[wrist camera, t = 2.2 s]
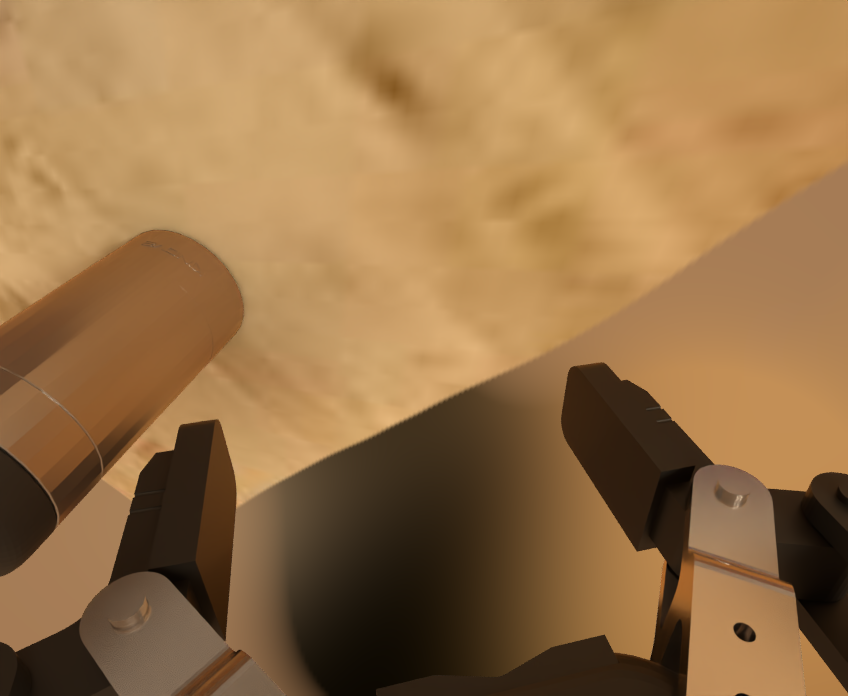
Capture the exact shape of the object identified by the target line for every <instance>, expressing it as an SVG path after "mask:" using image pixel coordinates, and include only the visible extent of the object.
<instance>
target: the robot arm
mask: <svg viewBox="0 0 848 696" xmlns="http://www.w3.org/2000/svg"><path fill="white" fill-rule="evenodd" d="M242 320H243V302H242V297H241V293H240V291H239V289H238V287H237V284H236V282H235V280H234V279H233V277H232V276H231V274H230V273H229V271H228V270H227V268H226V267H225V266H224V265H223V264H222V263H221V262H220V261H219V259H218V258H217V257H216V256H214V255H213V254H212V253H211V252H210V251H209V250H207V249H206V248H205V247H203V246H202V245H200V244H199V243H197V242H195V241H194V240H192V239H190V238H188V237H186V236H183V235H181V234H178V233H174V232H170V231H166V230H152V231H148V232H144V233H142V234H140V235H139V236H137V237H135V238H134V239H132V240H131V241H129V242H128V243H126V244H125V245H123V246H122V247H120V248H118V249H117V250H115V251H114V252H112V253H111V254H109V255H108V256H106V257H105V258H103V259H101V260H100V261H98V262H96V263H95V264H93V265H92V266H90V267H89V268H87V269H86V270H84V271H83V272H81V273H80V274H78V275H77V276H75V277H74V278H72V279H71V280H69V281H67V282H66V283H64V284H63V285H61V286H60V287H58V288H57V289H55V290H54V291H52V292H51V293H49V294H48V295H46V296H45V297H43V298H42V299H40V300H39V301H37V302H36V303H34V304H33V305H31V306H30V307H28V308H26V309H25V310H23V311H22V312H20V313H19V314H17V315H16V316H14V317H13V318H11V319H10V320H8V321H7V322H5V323H4V324H2V325H1V326H0V576H3V575H6V574H8V573H10V572H12V571H13V570H15V569H16V568H18V567H19V566H20V565H22V564H23V563H24V562H25V561H26V560H27V559H28V558H29V557H30V556H31V555H32V554H33V553H34V552H35V551H36V550H37V549H38V548H39V547H40V545H41V544H42V543H43V542H44V541H45V540H46V539H47V538H48V537H49V536H50V535H51V533H52V532H53V531H54V530H55V529H56V527H57V526H58V525H59V524H60V523H61V522H62V521H63V520H64V519H65V518H66V517H67V515H68V514H69V513H70V512H71V511H72V510H73V509H74V508H75V507H76V506H77V505H78V503H79V502H80V501H81V500H82V499H83V498H84V497H85V496H86V495H87V494H88V493H89V492H90V491H91V489H92V488H93V487H94V486H95V485H96V484H97V483H98V482H99V480H100V479H101V478H102V477H103V476H104V475H105V474H106V473H107V472H108V471H109V470H110V469H111V468H112V466H113V465H114V464H115V463H116V462H117V461H118V460H119V459H120V458H121V457H122V456H123V455H124V453H125V452H126V451H127V450H128V449H129V448H130V447H131V446H132V445H133V444H134V443H135V442H136V441H137V439H138V438H139V437H140V436H141V435H142V434H143V433H144V432H145V431H146V430H147V429H148V428H149V426H150V425H151V424H152V423H153V422H154V421H155V420H156V419H157V418H158V417H159V416H160V415H161V414H162V412H163V411H164V410H165V409H166V408H167V407H168V406H169V405H170V404H171V403H172V402H173V401H174V399H175V398H176V397H177V396H178V395H179V394H180V393H181V392H182V391H183V390H184V389H185V388H186V387H187V385H188V384H189V383H190V382H191V381H192V380H193V379H194V378H195V377H196V376H197V375H198V374H199V373H200V371H201V370H202V369H203V368H204V367H205V366H206V365H207V364H208V363H209V362H210V361H211V360H212V359H213V358H214V357H215V356H216V355H217V353H218V352H219V351H220V350H221V349H222V348H223V347H224V346H225V345H226V344H227V343H228V341H229V340H230V339H231V338H232V337H233V336H234V335H235V334H236V333H237V331H238V330H239V328H240V326H241V324H242ZM561 424H562V430H563V434H564V437H565V439H566V441H567V443H568V445H569V446H570V448H571V449H572V451H573V453H574V454H575V456H576V457H577V459H578V460H579V462H580V463H581V465H582V467H583V468H584V470H585V471H586V473H587V474H588V476H589V477H590V479H591V480H592V482H593V483H594V485H595V487H596V488H597V490H598V491H599V493H600V495H601V496H602V498H603V499H604V501H605V502H606V504H607V505H608V507H609V509H610V510H611V512H612V513H613V515H614V516H615V518H616V519H617V521H618V523H619V524H620V526H621V527H622V529H623V530H624V532H625V534H626V535H627V537H628V538H629V540H630V541H631V543H632V544H633V546H634V547H635V549H636V551H642V550H647V549H651V548H656V547H657V548H658V550H659V551H660V553H661V554H662V556H663V557H664V559H665V561H664V564H663V568H662V577H661V587H660V595H659V603H658V612H657V620H656V629H655V638H654V644H653V649H652V653H651V657H650V660H647V659H643V658H640V657H636V656H633V655H627V654H621V653H614V652H613V650H612V648H611V646H610V645H609V642H608V640H607V639H606V636H605V635H601V636H597V637H593V638H589V639H585V640H580V641H576V642H572V643H568V644H564V645H559V646H555V647H552V648H550V649H548V650H546V651H545V652H543V653H541V654H539V655H538V656H536V657H535V658H533V659H531V660H529V661H528V662H526V663H524V664H522V665H521V666H519V667H517V668H515V669H514V670H512V671H510V672H509V673H507V674H505V675H503V676H500V677H473V676H446V675H445V676H444V675H434V676H430V677H426V678H421V679H417V680H413V681H409V682H405V683H400V684H396V685H392V686H388V687H384V688H380V689H376V693H377V696H806V692H805V683H804V673H803V664H802V655H801V645H800V636H799V629H800V630H801V631H802V633H803V634H804V635H805V636H806V638H807V639H808V641H809V642H810V643H811V644H812V646H813V647H814V648H815V650H816V651H817V652H818V654H819V655H820V656H821V658H822V659H823V660H824V662H825V663H826V664H827V666H828V667H829V668H830V670H831V671H832V672H833V674H834V675H835V676H836V678H837V679H838V680H839V682H840V683H841V684H842V686H843V687H844V688H845V690H846V691H847V692H848V475H847V474H842V473H834V472H829V473H823V474H819V475H817V476H816V477H815V478H813V480H812V482H811V484H810V486H809V488H808V490H807V492H803V491H791V490H779V489H767V488H766V487H765V486H764V485H763V484H762V483H761V482H760V481H759V480H758V479H757V478H755V477H754V476H752V475H751V474H749V473H747V472H745V471H743V470H740V469H738V468H735V467H731V466H726V465H714V464H713V462H712V461H711V460H710V459H709V458H708V457H707V456H706V455H705V454H704V453H703V452H702V450H701V449H700V448H699V447H698V446H697V445H696V444H695V443H694V442H693V441H692V440H691V439H690V437H688V435H687V434H686V433H685V432H684V431H683V430H682V429H681V428H680V427H679V426H678V424H677V423H676V422H675V421H672V420H671V417H670V416H669V415H668V414H667V413H666V411H665V410H664V409H661V408H660V405H659V404H658V403H657V402H656V401H655V400H654V399H653V397H652V396H651V395H650V394H649V393H648V392H647V391H645V390H644V389H642V388H640V387H638V386H637V385H635V384H633V383H631V382H630V381H628V380H623V381H621V380H620V379H619V378H618V377H617V376H616V375H615V373H614V372H613V371H612V370H611V369H610V368H609V367H608V366H607V365H606V364H605V363H602V362H601V363H594V364H588V365H580V366H574V367H571V368H570V370H569V372H568V377H567V384H566V390H565V396H564V403H563V409H562V417H561ZM134 494H135V498H133V500H132V504H131V507H130V515H128V518H127V522H126V525H125V529H124V532H123V536H122V539H121V543H120V547H119V550H118V554H117V557H116V561H115V564H114V568H113V571H112V575H111V579H110V581H109V584H108V586H106V587H105V588H104V589H102V590H101V591H100V592H99V593H98V594H97V595H96V596H95V597H94V598H93V599H92V601H91V602H90V603H89V604H88V606H87V608H86V609H85V611H84V613H83V615H82V618H80V619H79V620H78V621H77V622H75V623H74V624H72V625H70V626H69V627H67V628H66V629H64V630H62V631H60V632H58V633H56V634H54V635H51V636H49V637H47V638H45V639H43V640H41V641H39V642H37V643H34V644H32V645H30V646H28V647H26V648H24V649H21V650H19V651H17V652H15V651H14V650H13V649H12V648H11V647H10V646H8V645H7V644H4V643H2V642H0V696H286V695H285V694H284V693H283V692H282V691H281V689H280V688H279V687H278V686H277V685H276V684H275V683H274V682H273V681H272V680H271V678H270V677H269V676H268V675H267V674H266V673H265V672H264V671H263V670H262V669H261V668H260V667H259V665H258V664H257V663H256V662H255V661H254V660H253V659H252V658H251V657H250V656H249V655H248V654H246V653H245V652H244V651H242V650H238V651H237V652H235V651H233V650H232V649H231V648H230V647H229V646H228V645H227V644H226V643H225V642H224V641H225V640H226V627H227V614H228V601H229V588H230V576H231V563H232V550H233V549H232V548H233V537H234V524H235V511H236V481H235V475H234V470H233V467H232V463H231V459H230V456H229V452H228V448H227V445H226V441H225V438H224V434H223V430H222V427H221V424H220V422H219V420H218V419H216V420H209V421H202V422H195V423H189V424H182V425H180V427H179V430H178V435H177V439H176V444H175V448H174V450H172V451H166V452H159V453H156V454H155V455H154V456H153V457H152V459H151V460H150V461H149V462H148V464H147V465H146V466H145V467H144V469H143V470H142V471H141V472H140V475H139V479H138V482H137V486H136V490H135V493H134Z"/></svg>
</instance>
